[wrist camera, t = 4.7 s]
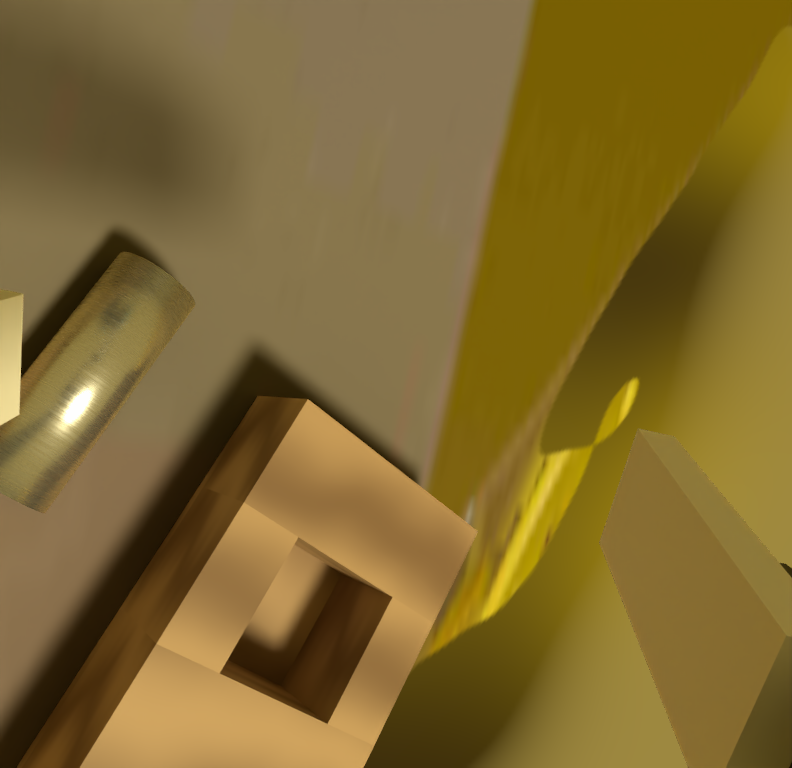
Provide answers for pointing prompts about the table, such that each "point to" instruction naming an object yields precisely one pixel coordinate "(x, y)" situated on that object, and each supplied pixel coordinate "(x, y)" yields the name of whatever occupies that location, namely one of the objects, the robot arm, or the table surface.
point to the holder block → (267, 611)
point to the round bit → (88, 376)
